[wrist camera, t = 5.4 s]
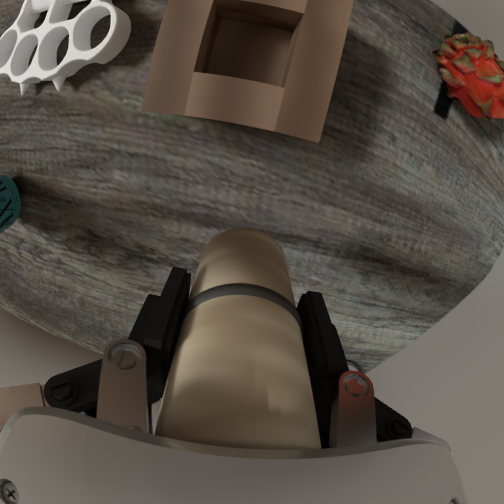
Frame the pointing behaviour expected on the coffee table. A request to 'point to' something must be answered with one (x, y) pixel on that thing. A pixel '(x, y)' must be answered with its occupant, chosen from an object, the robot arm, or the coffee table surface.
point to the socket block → (249, 62)
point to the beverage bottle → (8, 202)
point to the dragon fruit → (472, 74)
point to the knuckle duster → (59, 41)
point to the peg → (240, 353)
